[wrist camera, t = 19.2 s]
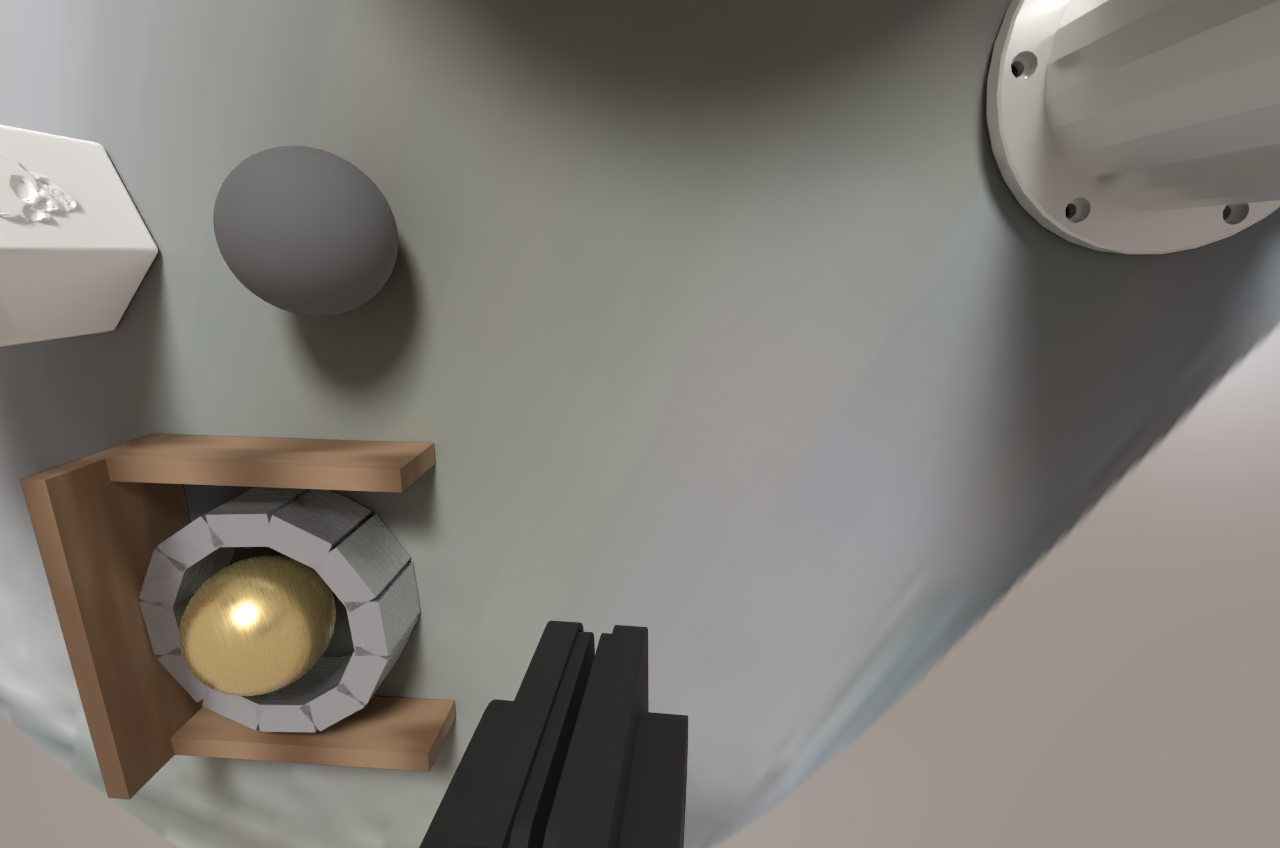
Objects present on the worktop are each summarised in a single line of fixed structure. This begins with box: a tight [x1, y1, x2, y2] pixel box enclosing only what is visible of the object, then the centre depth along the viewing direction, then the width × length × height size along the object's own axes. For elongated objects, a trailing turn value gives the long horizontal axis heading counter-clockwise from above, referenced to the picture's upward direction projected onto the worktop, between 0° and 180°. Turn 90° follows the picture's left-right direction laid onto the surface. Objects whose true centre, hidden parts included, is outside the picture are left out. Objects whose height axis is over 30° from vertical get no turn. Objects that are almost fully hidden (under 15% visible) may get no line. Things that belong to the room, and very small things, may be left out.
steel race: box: [139, 487, 420, 732], centre depth 29 cm, size 11×11×4 cm
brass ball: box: [179, 556, 336, 696], centre depth 28 cm, size 6×6×6 cm
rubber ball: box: [214, 146, 398, 316], centre depth 23 cm, size 6×6×6 cm
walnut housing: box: [20, 434, 456, 799], centre depth 28 cm, size 14×15×6 cm
